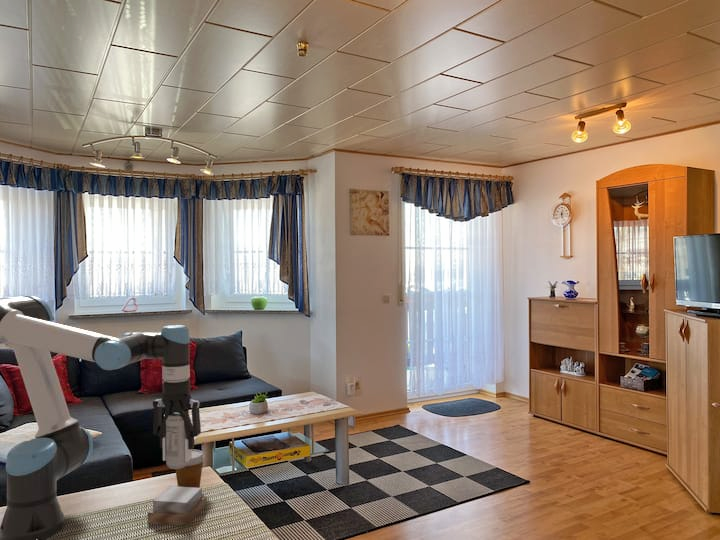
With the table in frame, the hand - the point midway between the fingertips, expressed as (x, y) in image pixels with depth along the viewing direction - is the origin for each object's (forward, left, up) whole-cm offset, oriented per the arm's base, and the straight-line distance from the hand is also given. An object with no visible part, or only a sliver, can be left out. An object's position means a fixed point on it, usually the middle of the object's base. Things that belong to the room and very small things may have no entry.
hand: (177, 459), depth 160 cm
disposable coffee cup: (-4, +15, -16) cm, 23 cm away
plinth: (0, 0, -16) cm, 16 cm away
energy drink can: (0, 0, -2) cm, 2 cm away
